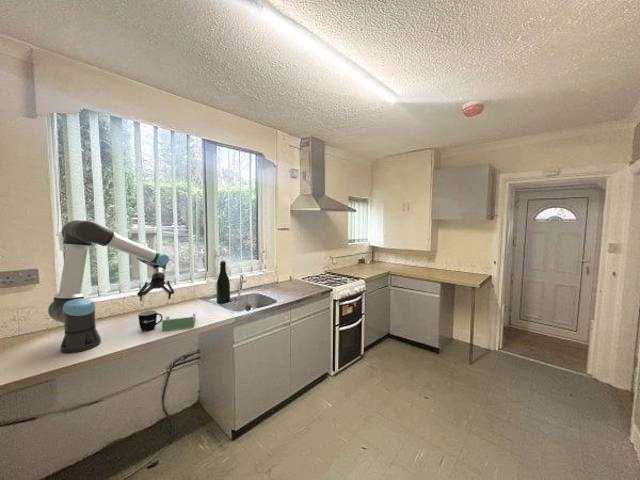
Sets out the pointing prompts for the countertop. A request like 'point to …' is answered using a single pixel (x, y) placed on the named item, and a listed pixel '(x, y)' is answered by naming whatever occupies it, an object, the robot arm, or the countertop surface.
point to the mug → (148, 320)
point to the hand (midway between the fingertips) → (154, 304)
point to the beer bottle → (223, 285)
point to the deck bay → (178, 323)
